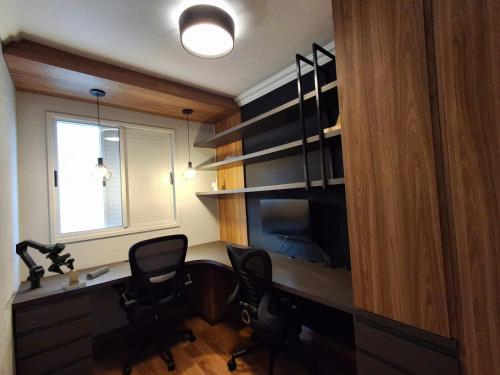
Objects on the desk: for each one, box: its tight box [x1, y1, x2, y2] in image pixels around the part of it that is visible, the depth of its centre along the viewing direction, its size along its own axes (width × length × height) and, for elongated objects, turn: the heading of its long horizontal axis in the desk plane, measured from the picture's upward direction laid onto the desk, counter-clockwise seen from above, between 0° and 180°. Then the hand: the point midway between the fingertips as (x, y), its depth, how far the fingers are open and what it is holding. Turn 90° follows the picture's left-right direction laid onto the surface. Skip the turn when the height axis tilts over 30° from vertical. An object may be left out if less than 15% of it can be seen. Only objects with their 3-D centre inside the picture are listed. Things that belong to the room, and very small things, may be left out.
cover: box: [67, 268, 80, 285], centre depth 182 cm, size 7×7×12 cm
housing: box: [61, 279, 87, 291], centre depth 181 cm, size 12×12×3 cm
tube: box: [85, 265, 110, 280], centre depth 210 cm, size 5×5×25 cm
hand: (68, 272), depth 182 cm, fingers open, 9 cm apart
